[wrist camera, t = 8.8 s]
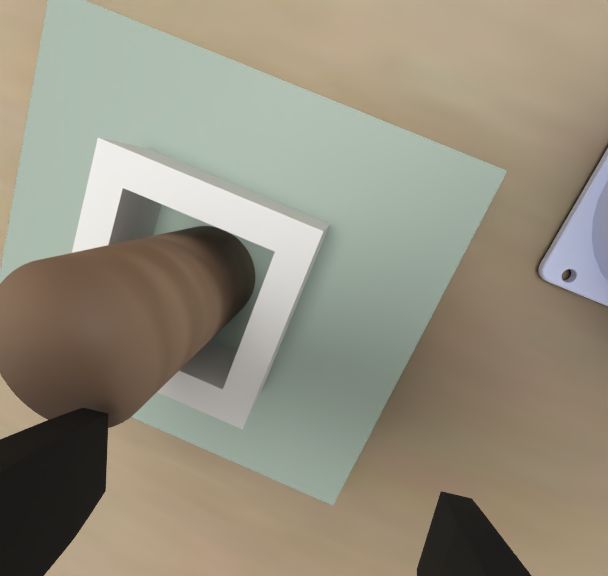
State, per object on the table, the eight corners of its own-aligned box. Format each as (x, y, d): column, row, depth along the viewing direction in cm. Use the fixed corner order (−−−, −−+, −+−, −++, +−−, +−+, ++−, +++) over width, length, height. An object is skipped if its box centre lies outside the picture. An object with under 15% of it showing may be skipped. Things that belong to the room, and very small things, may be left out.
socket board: (497, 172, 15) (547, 164, 11) (334, 490, 19) (328, 565, 15) (69, -1, 15) (-27, -66, 11) (4, 345, 20) (-83, 382, 16)
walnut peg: (268, 248, 16) (177, 304, 8) (237, 334, 17) (130, 456, 9) (177, 210, 16) (2, 228, 8) (152, 298, 17) (-24, 387, 9)
